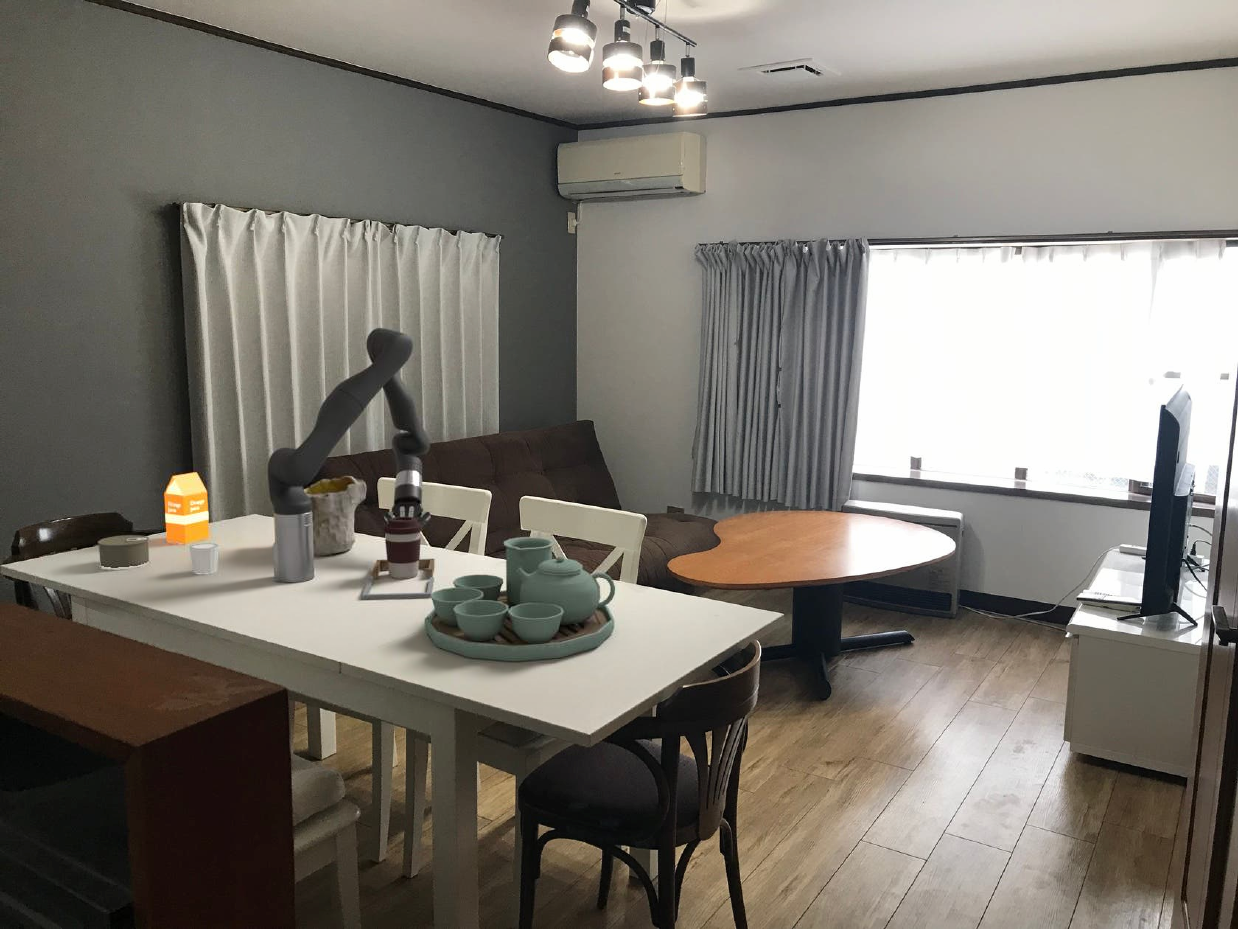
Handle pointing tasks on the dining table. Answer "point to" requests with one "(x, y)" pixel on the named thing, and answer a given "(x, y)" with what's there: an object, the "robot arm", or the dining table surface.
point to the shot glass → (204, 558)
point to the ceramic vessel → (334, 513)
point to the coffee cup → (403, 546)
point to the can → (124, 551)
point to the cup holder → (421, 565)
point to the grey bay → (396, 595)
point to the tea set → (523, 608)
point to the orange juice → (186, 509)
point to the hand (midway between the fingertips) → (405, 543)
